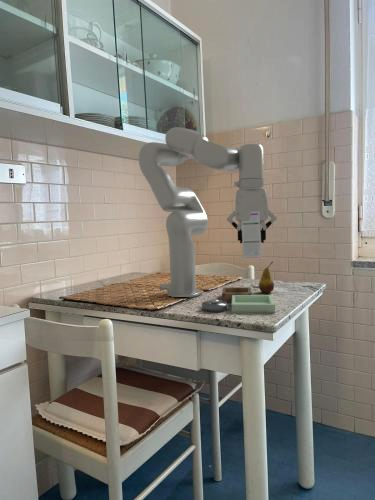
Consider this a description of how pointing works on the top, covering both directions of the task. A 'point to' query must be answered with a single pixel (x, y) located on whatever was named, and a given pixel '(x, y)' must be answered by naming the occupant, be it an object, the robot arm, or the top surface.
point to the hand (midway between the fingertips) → (251, 242)
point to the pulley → (214, 306)
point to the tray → (253, 304)
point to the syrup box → (251, 236)
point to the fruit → (266, 281)
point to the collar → (234, 292)
